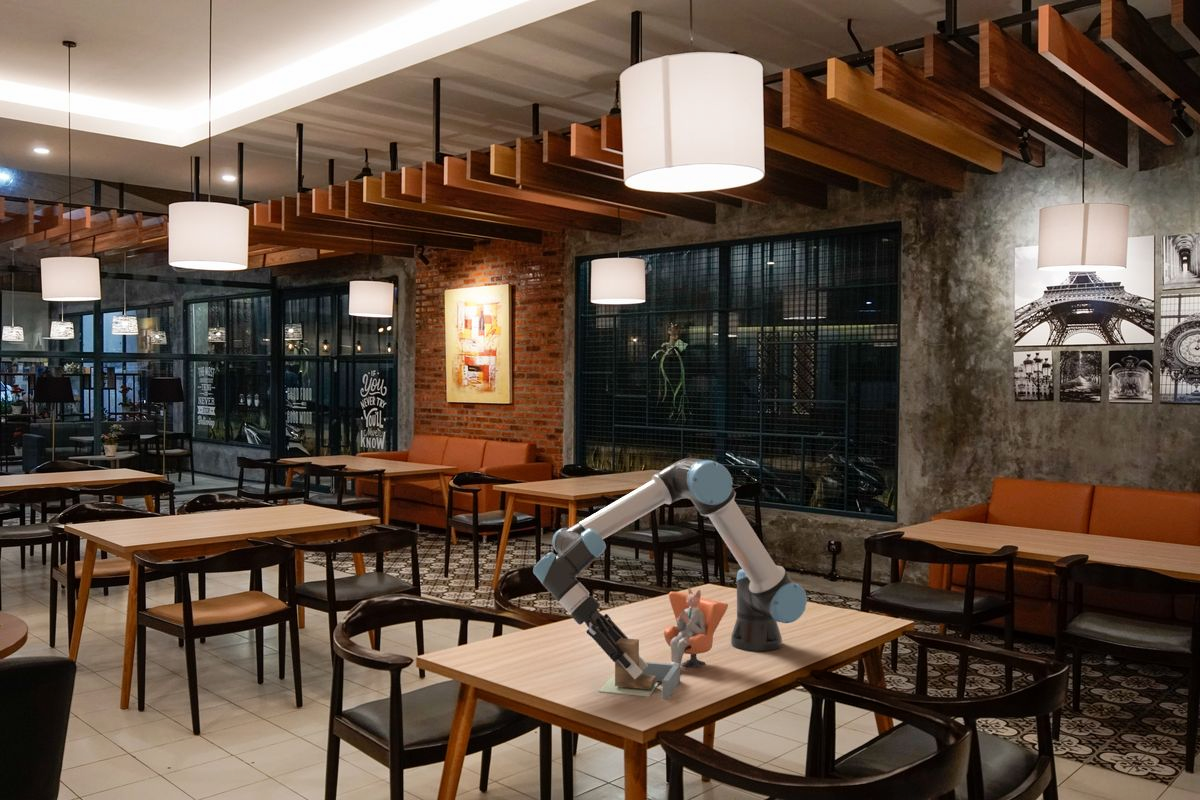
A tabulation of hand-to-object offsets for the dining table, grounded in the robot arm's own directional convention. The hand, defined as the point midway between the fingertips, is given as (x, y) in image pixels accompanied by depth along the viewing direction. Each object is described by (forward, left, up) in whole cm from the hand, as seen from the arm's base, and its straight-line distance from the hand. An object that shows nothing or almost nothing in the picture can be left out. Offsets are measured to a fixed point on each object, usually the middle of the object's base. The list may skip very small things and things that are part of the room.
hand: (641, 672), depth 236 cm
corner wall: (-1, -2, -4) cm, 5 cm away
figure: (-7, -22, -4) cm, 24 cm away
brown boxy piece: (+2, 0, -3) cm, 4 cm away
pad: (+3, 0, -4) cm, 5 cm away
